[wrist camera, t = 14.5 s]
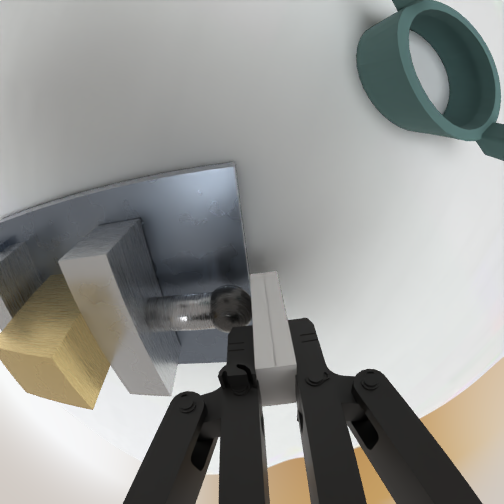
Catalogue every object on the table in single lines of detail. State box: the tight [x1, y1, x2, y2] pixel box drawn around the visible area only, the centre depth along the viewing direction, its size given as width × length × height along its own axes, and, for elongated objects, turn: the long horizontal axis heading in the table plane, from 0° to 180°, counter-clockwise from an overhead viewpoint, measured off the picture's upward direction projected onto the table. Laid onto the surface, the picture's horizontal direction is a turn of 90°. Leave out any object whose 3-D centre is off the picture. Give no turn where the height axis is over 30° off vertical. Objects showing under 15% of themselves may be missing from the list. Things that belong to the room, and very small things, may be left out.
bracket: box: [356, 0, 504, 161], centre depth 8 cm, size 9×9×9 cm
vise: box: [0, 162, 253, 364], centre depth 16 cm, size 14×21×6 cm, turn 96°
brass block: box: [0, 274, 110, 410], centre depth 13 cm, size 4×6×8 cm, turn 96°
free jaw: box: [58, 218, 252, 396], centre depth 14 cm, size 10×9×4 cm
